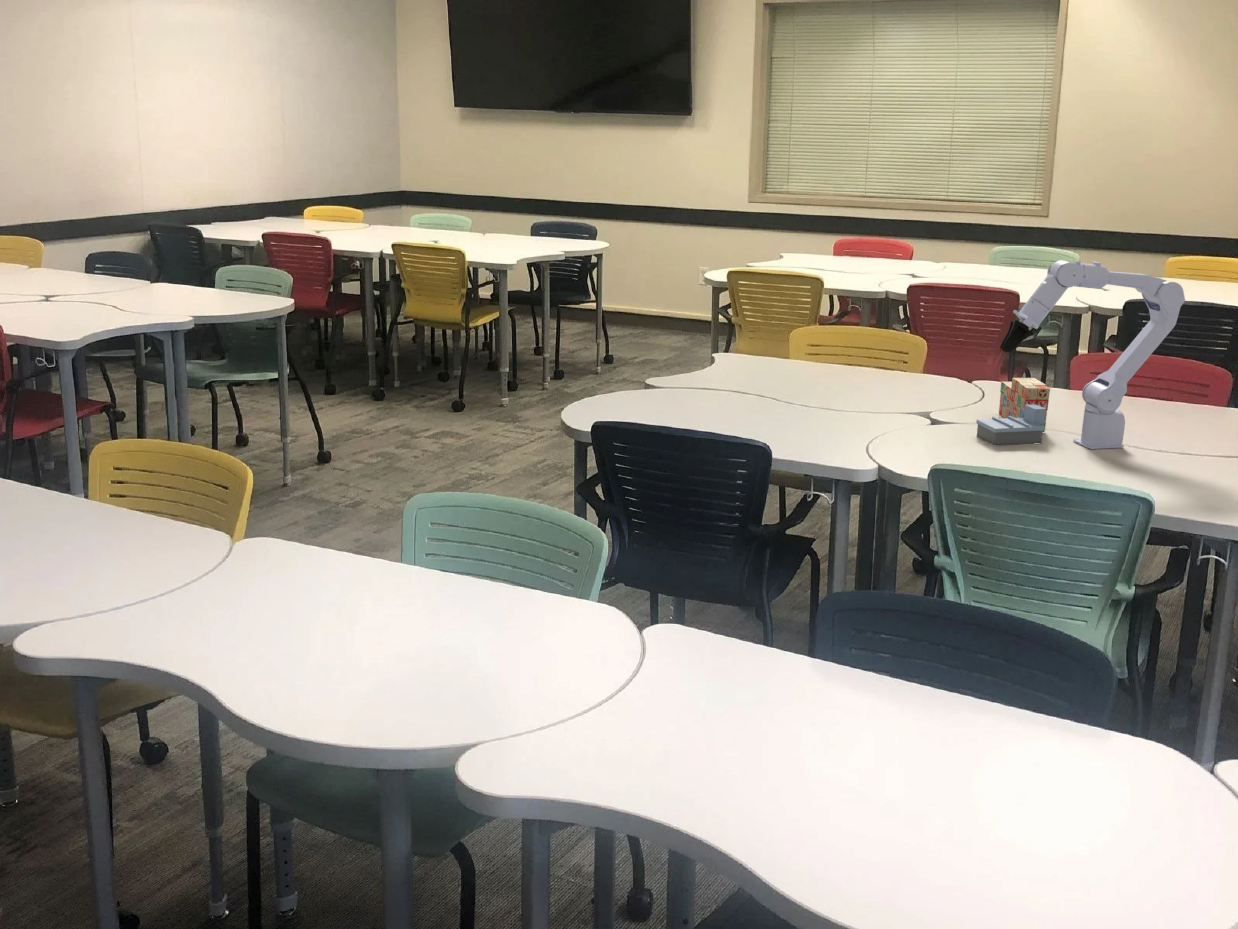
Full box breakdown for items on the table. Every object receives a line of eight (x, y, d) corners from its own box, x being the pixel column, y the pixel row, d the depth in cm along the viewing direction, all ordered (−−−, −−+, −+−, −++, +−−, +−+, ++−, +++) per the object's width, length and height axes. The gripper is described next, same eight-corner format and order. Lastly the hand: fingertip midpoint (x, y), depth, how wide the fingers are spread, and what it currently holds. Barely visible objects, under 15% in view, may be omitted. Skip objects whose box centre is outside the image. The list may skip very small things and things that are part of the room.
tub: (1022, 434, 311) (1024, 421, 310) (1041, 443, 302) (1042, 430, 301) (976, 436, 308) (977, 423, 307) (993, 445, 300) (995, 432, 299)
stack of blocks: (997, 413, 333) (1002, 370, 330) (1020, 414, 333) (1025, 370, 330) (1021, 433, 313) (1026, 387, 309) (1045, 433, 313) (1050, 387, 309)
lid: (1028, 421, 310) (1030, 402, 309) (1048, 430, 301) (1050, 410, 300) (976, 423, 307) (978, 404, 306) (994, 432, 298) (996, 413, 297)
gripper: (1023, 296, 299) (988, 340, 301) (1029, 293, 284) (993, 340, 287) (1046, 312, 298) (1012, 357, 300) (1054, 310, 284) (1017, 357, 286)
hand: (1004, 350), depth 294 cm, fingers open, 7 cm apart
